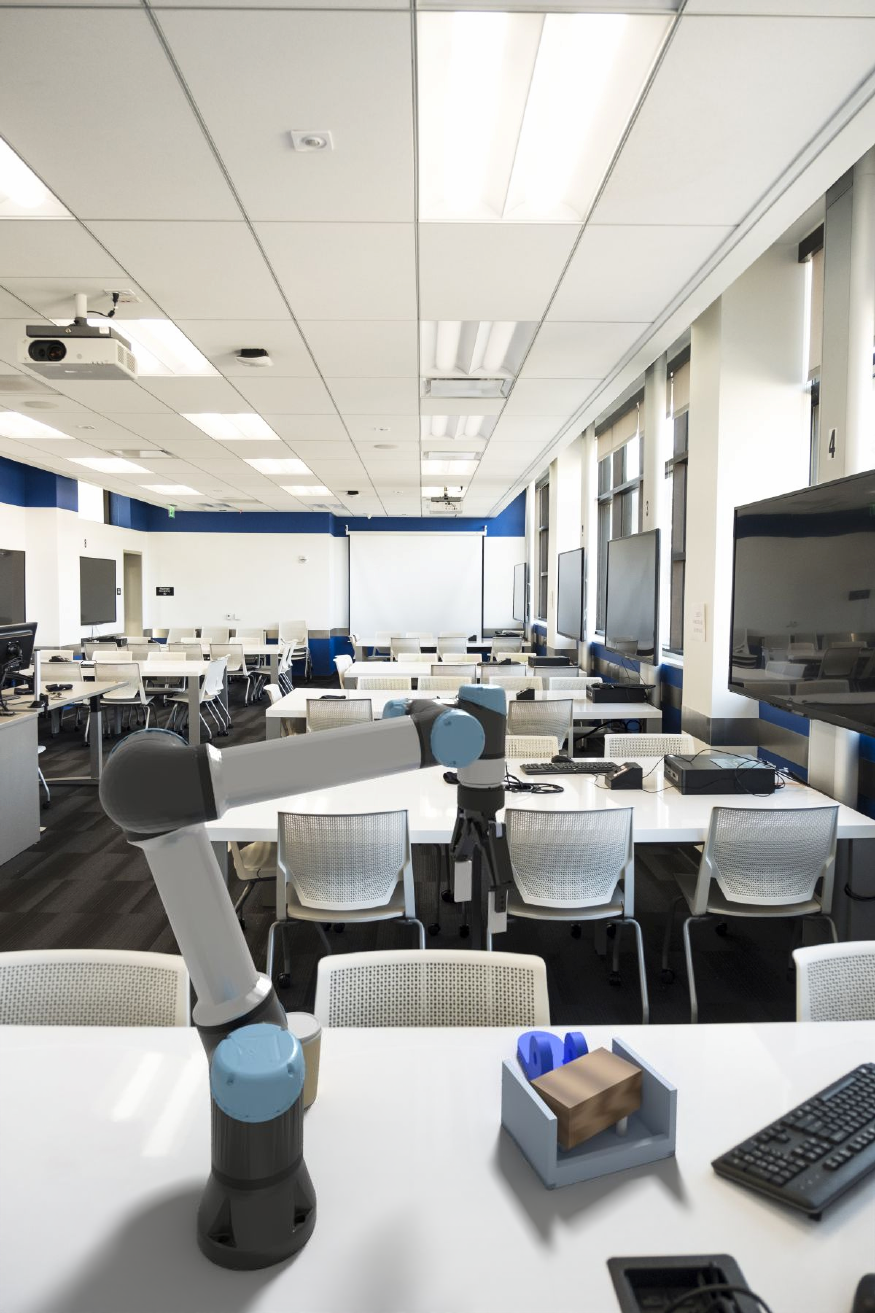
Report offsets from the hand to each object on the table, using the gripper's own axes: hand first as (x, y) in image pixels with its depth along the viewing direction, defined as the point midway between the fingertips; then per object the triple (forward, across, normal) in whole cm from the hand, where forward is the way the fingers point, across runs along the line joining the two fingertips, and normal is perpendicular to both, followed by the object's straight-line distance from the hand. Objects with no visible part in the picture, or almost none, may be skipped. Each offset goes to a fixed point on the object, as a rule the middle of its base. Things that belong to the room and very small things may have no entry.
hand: (479, 915), depth 123 cm
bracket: (+32, +6, -17) cm, 37 cm away
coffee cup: (+32, +13, +27) cm, 44 cm away
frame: (+32, -12, -13) cm, 36 cm away
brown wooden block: (+28, -12, -13) cm, 33 cm away
